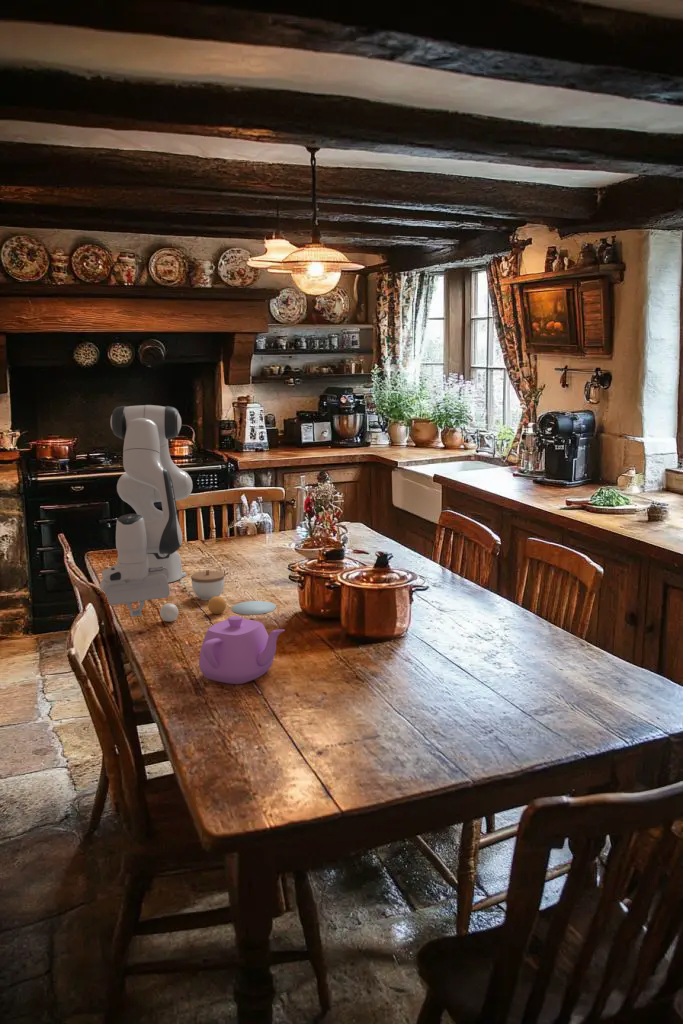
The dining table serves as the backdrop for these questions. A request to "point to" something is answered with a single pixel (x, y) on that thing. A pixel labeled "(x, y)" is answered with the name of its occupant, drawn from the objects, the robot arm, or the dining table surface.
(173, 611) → the cue ball
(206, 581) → the lidded jar
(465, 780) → the dining table surface
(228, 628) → the teapot
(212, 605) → the object ball
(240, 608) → the gray disc
